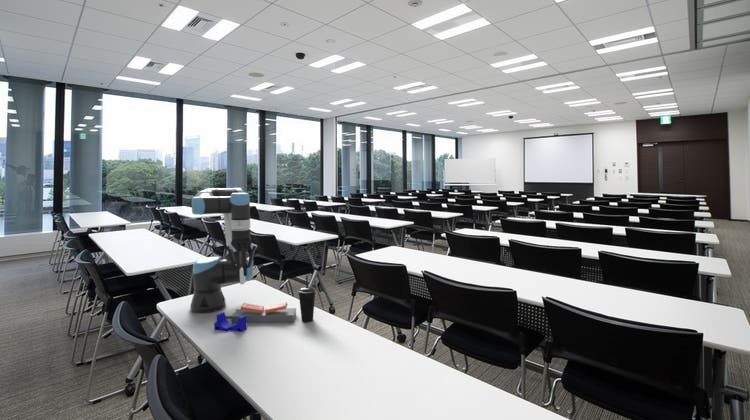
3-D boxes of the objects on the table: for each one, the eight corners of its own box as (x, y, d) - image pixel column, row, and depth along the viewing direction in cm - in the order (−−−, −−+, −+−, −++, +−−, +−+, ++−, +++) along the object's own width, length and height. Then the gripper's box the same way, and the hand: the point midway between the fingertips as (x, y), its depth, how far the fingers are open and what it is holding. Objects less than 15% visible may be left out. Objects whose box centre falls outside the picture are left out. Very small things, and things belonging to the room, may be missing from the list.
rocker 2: (265, 313, 155) (264, 310, 155) (267, 309, 159) (266, 306, 159) (285, 308, 155) (285, 305, 155) (287, 305, 160) (286, 301, 160)
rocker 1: (240, 309, 154) (240, 306, 154) (243, 305, 158) (243, 302, 158) (261, 313, 155) (261, 310, 155) (263, 309, 159) (264, 306, 159)
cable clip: (214, 330, 147) (213, 316, 146) (222, 325, 151) (221, 311, 150) (239, 334, 143) (238, 319, 143) (246, 329, 148) (246, 315, 147)
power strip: (219, 324, 152) (218, 316, 152) (225, 316, 160) (225, 309, 160) (293, 322, 154) (293, 315, 154) (296, 314, 162) (295, 307, 162)
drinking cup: (318, 317, 160) (317, 273, 158) (313, 324, 153) (313, 278, 151) (301, 316, 161) (300, 272, 159) (296, 323, 154) (295, 277, 151)
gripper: (222, 230, 148) (224, 286, 151) (254, 230, 149) (256, 285, 152) (228, 227, 156) (230, 280, 158) (258, 227, 157) (260, 280, 159)
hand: (242, 283), depth 155 cm, fingers closed
